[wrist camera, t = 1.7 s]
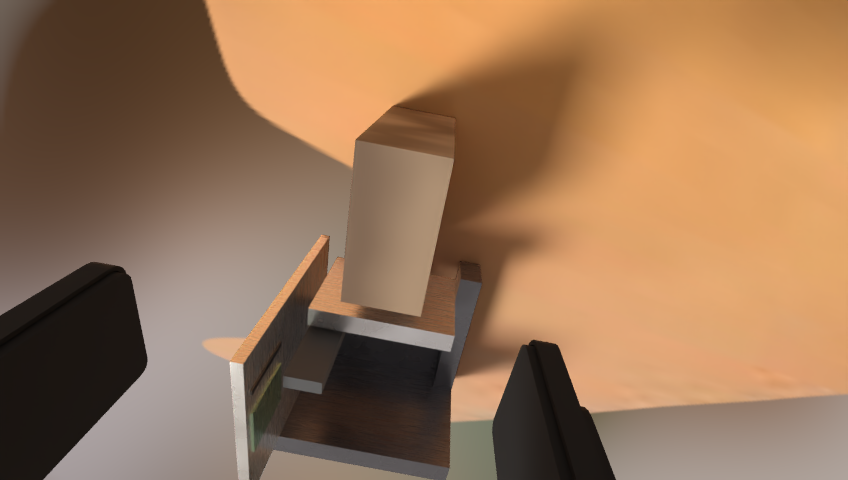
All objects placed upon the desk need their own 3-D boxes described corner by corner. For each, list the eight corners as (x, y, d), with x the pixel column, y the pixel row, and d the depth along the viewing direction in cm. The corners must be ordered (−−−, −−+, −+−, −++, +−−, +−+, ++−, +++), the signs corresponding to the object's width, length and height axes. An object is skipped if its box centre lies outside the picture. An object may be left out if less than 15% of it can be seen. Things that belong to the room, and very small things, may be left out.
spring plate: (455, 279, 27) (454, 336, 22) (447, 309, 28) (445, 370, 23) (337, 256, 27) (308, 308, 22) (335, 288, 28) (306, 344, 23)
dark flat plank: (364, 277, 28) (322, 383, 19) (363, 286, 29) (321, 394, 20) (338, 272, 28) (282, 375, 19) (337, 281, 29) (282, 387, 20)
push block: (455, 118, 24) (454, 158, 15) (432, 230, 28) (420, 316, 19) (392, 105, 24) (355, 139, 15) (377, 220, 28) (340, 301, 19)
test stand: (480, 264, 29) (495, 411, 17) (448, 379, 34) (443, 549, 23) (321, 234, 29) (229, 361, 17) (314, 354, 34) (240, 512, 23)
